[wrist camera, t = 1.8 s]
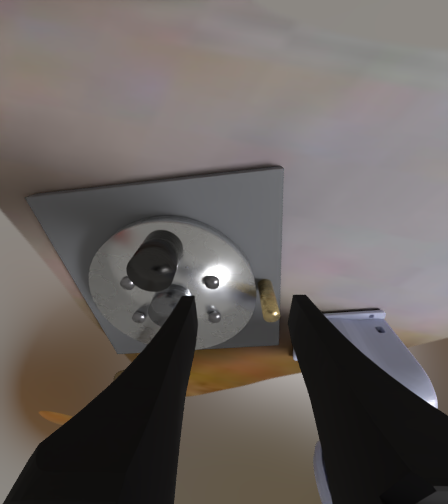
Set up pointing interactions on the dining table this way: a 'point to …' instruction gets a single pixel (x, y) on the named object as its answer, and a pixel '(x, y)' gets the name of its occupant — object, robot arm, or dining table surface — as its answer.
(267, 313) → the brass dowel
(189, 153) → the dining table surface
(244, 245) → the charcoal board
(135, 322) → the flange plate
